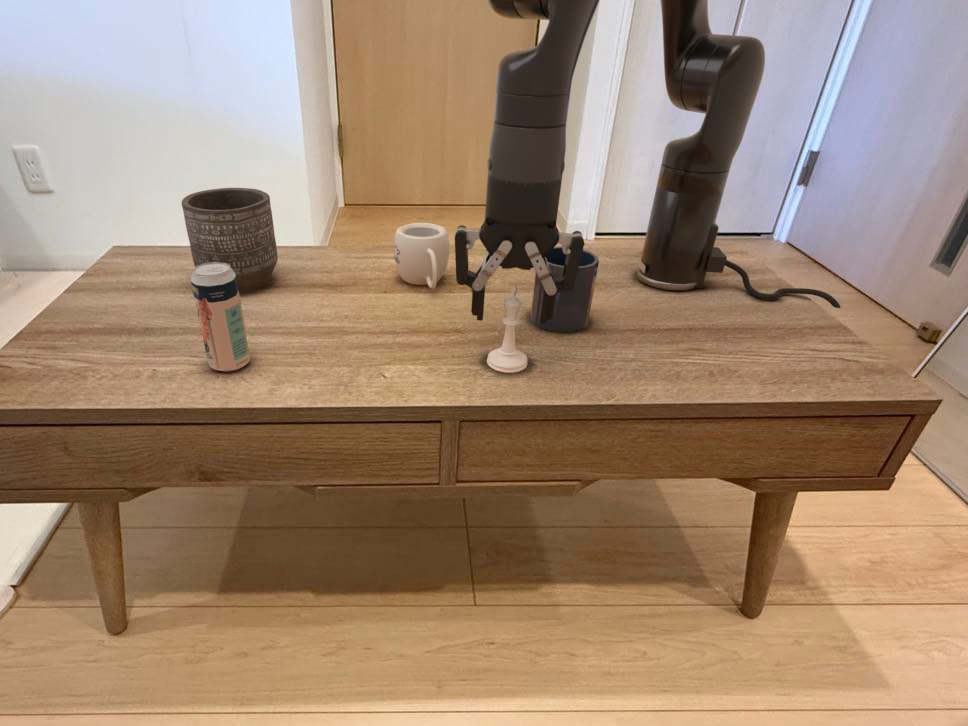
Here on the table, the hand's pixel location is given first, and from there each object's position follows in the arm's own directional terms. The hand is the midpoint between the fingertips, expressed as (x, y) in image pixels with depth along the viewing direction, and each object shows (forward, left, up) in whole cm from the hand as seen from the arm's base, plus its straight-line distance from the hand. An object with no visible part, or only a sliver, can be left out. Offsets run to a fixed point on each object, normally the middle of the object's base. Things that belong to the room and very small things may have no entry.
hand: (510, 319), depth 71 cm
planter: (+41, -19, -6) cm, 46 cm away
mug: (+13, -23, -6) cm, 27 cm away
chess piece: (0, 0, -6) cm, 6 cm away
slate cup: (-7, -13, -6) cm, 16 cm away
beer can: (+33, +5, -6) cm, 34 cm away
